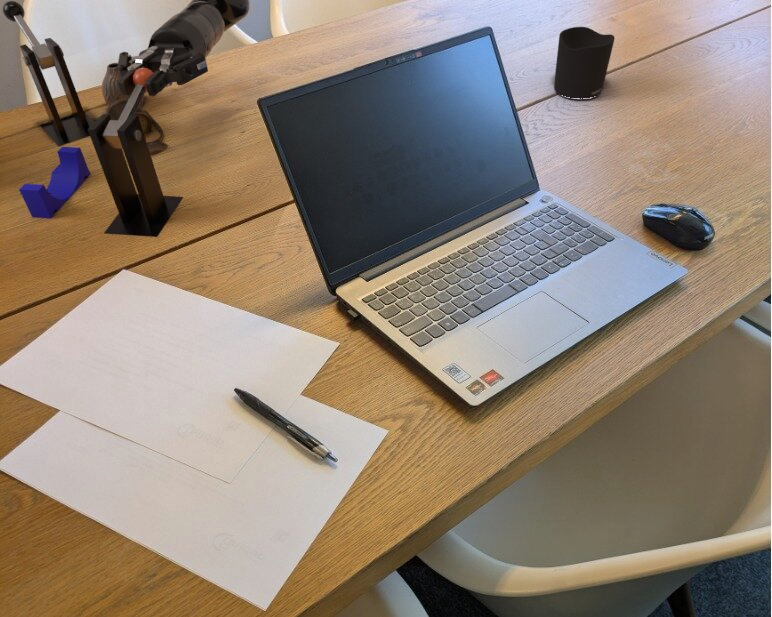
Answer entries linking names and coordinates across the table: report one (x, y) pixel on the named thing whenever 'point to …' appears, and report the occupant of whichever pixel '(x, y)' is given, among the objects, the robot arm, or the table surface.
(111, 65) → the vase
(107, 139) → the front lever
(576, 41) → the pen holder
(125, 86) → the robot arm
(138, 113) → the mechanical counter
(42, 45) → the back lever
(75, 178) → the blue curved cradle
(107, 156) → the front bracket
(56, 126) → the back bracket
